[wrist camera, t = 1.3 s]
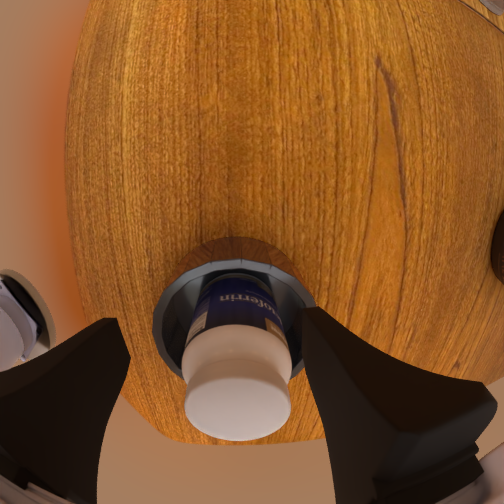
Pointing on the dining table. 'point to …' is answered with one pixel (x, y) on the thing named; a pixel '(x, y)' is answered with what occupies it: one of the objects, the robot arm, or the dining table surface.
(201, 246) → the bowl
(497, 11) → the glass holder
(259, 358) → the pill bottle
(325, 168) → the dining table surface
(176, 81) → the dining table surface
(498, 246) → the jar
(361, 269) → the dining table surface
